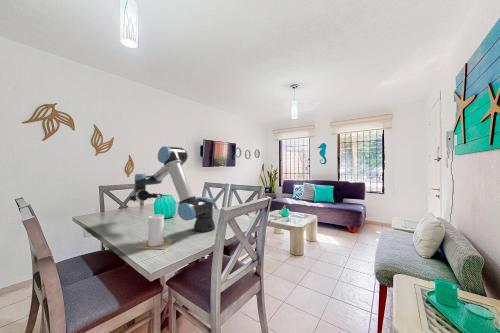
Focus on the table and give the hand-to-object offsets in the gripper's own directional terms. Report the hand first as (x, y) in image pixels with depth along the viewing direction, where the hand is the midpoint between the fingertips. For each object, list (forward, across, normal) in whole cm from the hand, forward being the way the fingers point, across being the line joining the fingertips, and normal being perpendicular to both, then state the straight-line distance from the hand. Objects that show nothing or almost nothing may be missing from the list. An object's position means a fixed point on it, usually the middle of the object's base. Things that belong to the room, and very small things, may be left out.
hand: (149, 198), depth 131 cm
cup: (+21, +1, -24) cm, 31 cm away
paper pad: (+21, +1, -24) cm, 32 cm away
